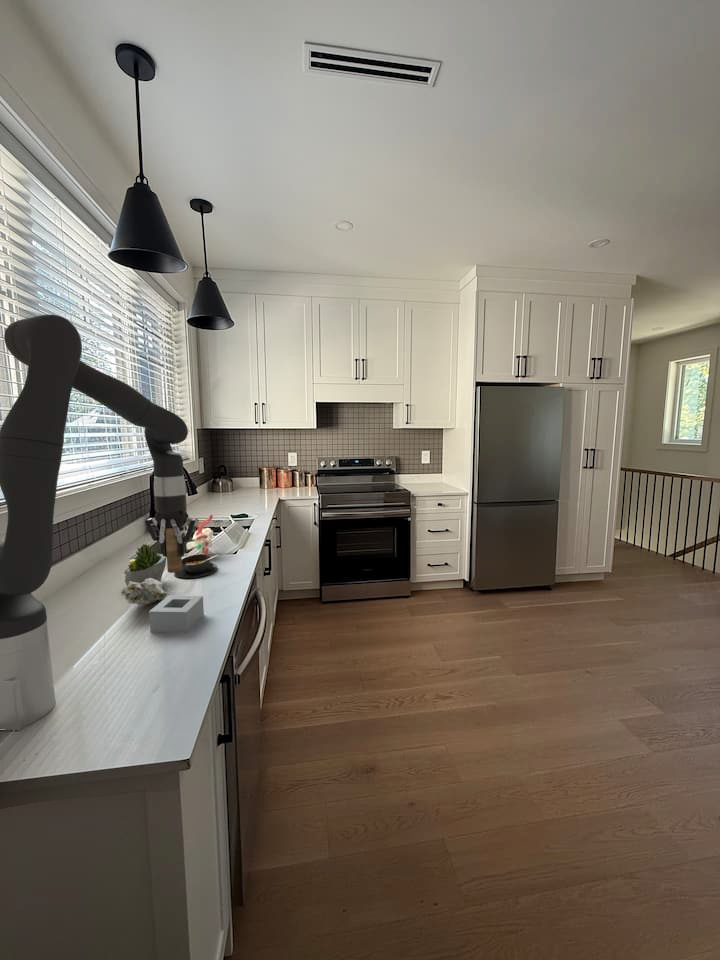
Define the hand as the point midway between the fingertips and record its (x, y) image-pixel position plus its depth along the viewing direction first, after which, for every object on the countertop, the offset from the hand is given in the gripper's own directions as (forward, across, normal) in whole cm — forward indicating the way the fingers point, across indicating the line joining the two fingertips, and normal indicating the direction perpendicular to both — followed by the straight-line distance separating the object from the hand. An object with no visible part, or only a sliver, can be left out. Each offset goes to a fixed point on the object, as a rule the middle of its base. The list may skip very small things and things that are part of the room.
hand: (174, 555), depth 106 cm
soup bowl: (+20, -12, +39) cm, 46 cm away
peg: (+4, 0, 0) cm, 4 cm away
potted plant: (+20, -24, +26) cm, 41 cm away
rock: (+20, -15, +11) cm, 27 cm away
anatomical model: (+20, -18, +57) cm, 63 cm away
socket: (+20, 0, 0) cm, 20 cm away
